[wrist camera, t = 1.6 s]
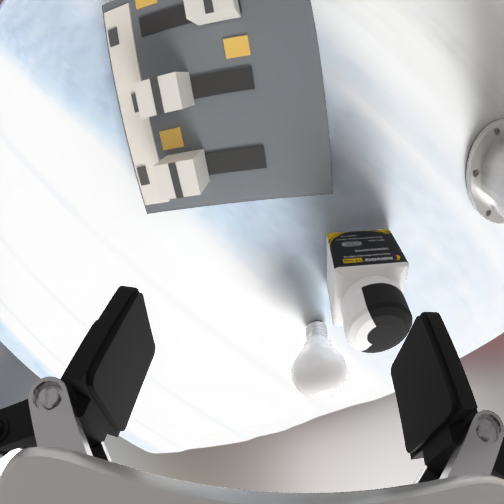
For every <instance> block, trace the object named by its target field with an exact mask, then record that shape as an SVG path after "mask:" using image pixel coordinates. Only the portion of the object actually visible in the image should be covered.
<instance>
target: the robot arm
mask: <svg viewBox="0 0 504 504" xmlns="http://www.w3.org/2000/svg"><path fill="white" fill-rule="evenodd" d="M466 184H467V190H468V194H469V197H470V200H471V202H472V204H473V206H474V208H475V209H476V210H477V211H478V212H479V213H480V214H481V215H482V216H483V217H484V218H485V219H487V220H489V221H491V222H493V223H498V224H499V223H504V119H498V120H496V121H494V122H491V123H490V124H489V125H487V126H486V127H485V128H484V129H483V130H482V131H481V132H480V134H479V135H478V137H477V138H476V140H475V142H474V143H473V146H472V148H471V151H470V154H469V158H468V162H467V169H466ZM154 353H155V344H154V340H153V336H152V332H151V328H150V324H149V320H148V316H147V311H146V307H145V302H144V298H143V294H142V293H139V291H138V289H137V288H133V287H126V286H120V287H119V288H118V290H117V291H116V293H115V294H114V296H113V297H112V299H111V300H110V302H109V303H108V305H107V307H106V308H105V310H104V311H103V313H102V314H101V316H100V318H99V319H98V320H97V321H95V323H94V324H93V325H92V327H91V328H90V330H89V332H88V333H87V335H86V337H85V338H84V340H83V342H82V343H81V345H80V347H79V348H78V350H77V352H76V353H75V355H74V357H73V358H72V360H71V362H70V364H69V365H68V367H67V369H66V371H65V372H64V374H63V376H62V378H61V379H58V378H56V377H45V378H42V379H40V380H38V381H37V382H36V383H35V384H34V385H33V386H32V388H31V389H30V392H29V395H28V399H27V400H24V401H22V402H19V403H16V404H14V405H11V406H9V407H6V408H3V409H1V410H0V504H504V425H503V423H502V420H501V419H500V417H499V416H498V415H497V414H495V413H494V412H492V411H489V410H483V411H480V412H477V405H476V401H475V399H474V396H473V393H472V390H471V387H470V385H469V382H468V379H467V377H466V374H465V372H464V369H463V367H462V364H461V362H460V359H459V357H458V354H457V352H456V350H455V347H454V345H453V343H452V340H451V338H450V336H449V334H448V331H447V329H446V327H445V325H444V323H443V321H442V318H441V316H440V315H439V313H437V312H423V313H421V315H420V316H418V317H417V318H416V319H415V321H414V323H413V326H412V328H411V330H410V332H409V334H408V336H407V338H406V340H405V342H404V344H403V346H402V348H401V349H400V351H399V353H398V355H397V357H396V359H395V361H394V363H393V364H392V367H391V376H392V380H393V384H394V389H395V393H396V398H397V403H398V408H399V413H400V418H401V423H402V428H403V434H404V439H405V446H406V450H407V452H408V453H410V455H411V459H418V458H424V461H425V465H424V466H423V468H422V470H421V471H420V473H419V475H418V476H417V478H416V480H415V481H414V483H413V484H411V485H404V486H398V487H391V488H383V489H375V490H365V491H353V492H339V493H337V492H336V493H279V492H262V491H250V490H240V489H232V488H224V487H217V486H209V485H203V484H198V483H192V482H187V481H182V480H178V479H173V478H168V477H164V476H160V475H156V474H152V473H148V472H144V471H140V470H136V469H133V468H130V467H126V466H123V465H119V464H116V463H113V462H112V460H111V458H110V456H109V454H108V451H107V449H106V446H105V444H104V440H105V438H106V435H107V434H109V435H113V436H116V437H118V435H119V433H120V431H124V430H125V428H126V426H127V423H128V420H129V418H130V415H131V412H132V410H133V407H134V404H135V402H136V399H137V396H138V394H139V391H140V389H141V386H142V384H143V381H144V379H145V376H146V373H147V371H148V368H149V366H150V363H151V361H152V359H153V356H154Z"/></svg>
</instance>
